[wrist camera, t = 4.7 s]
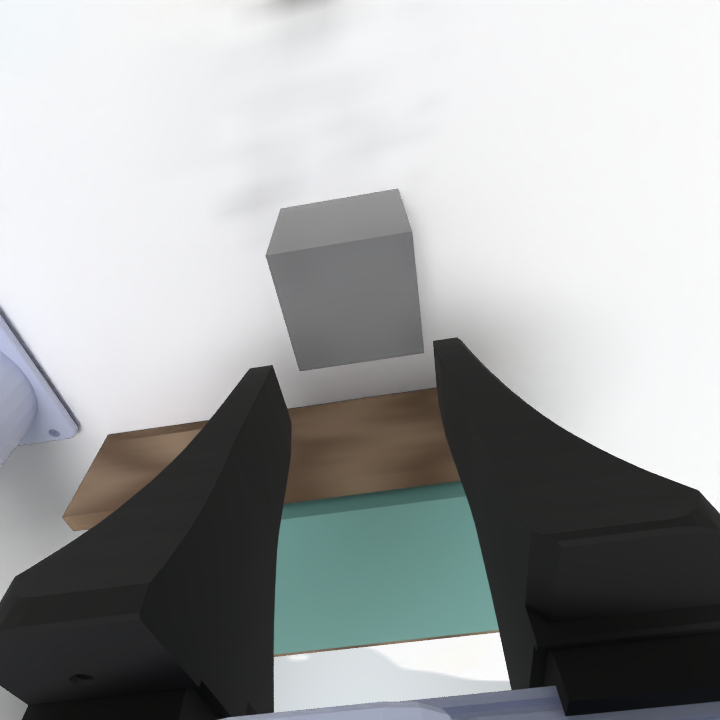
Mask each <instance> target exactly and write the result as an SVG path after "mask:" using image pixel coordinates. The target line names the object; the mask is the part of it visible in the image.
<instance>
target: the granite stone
mask: <svg viewBox="0 0 720 720" xmlns="http://www.w3.org/2000/svg"><path fill="white" fill-rule="evenodd" d="M266 258H267V261H268V265H269V268H270V272H271V275H272V278H273V282H274V285H275V289H276V292H277V296H278V299H279V302H280V306H281V309H282V313H283V316H284V320H285V323H286V326H287V330H288V333H289V337H290V340H291V344H292V347H293V350H294V354H295V357H296V361H297V364H298V367H299V371H305V370H312V369H319V368H325V367H332V366H339V365H346V364H352V363H359V362H366V361H373V360H379V359H386V358H393V357H400V356H406V355H413V354H420V353H424V347H423V337H422V327H421V317H420V307H419V297H418V287H417V277H416V267H415V257H414V246H413V236H412V230H411V227H410V224H409V221H408V218H407V215H406V212H405V209H404V206H403V203H402V200H401V197H400V194H399V191H398V189H393V190H387V191H381V192H375V193H370V194H364V195H358V196H352V197H346V198H340V199H335V200H329V201H323V202H317V203H311V204H306V205H300V206H294V207H288V208H282V209H280V212H279V216H278V219H277V222H276V225H275V228H274V231H273V234H272V237H271V241H270V244H269V247H268V250H267V253H266Z"/></svg>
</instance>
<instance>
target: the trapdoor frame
mask: <svg viewBox="0 0 720 720" xmlns="http://www.w3.org/2000/svg"><path fill="white" fill-rule="evenodd" d="M287 410H288V413H289V416H290V419H291V422H292V436H291V460H290V467H289V473H288V480H287V486H286V492H285V499H284V504H286V503H294V502H302V501H309V500H317V499H325V498H332V497H340V496H348V495H355V494H363V493H371V492H378V491H386V490H394V489H402V488H409V487H417V486H425V485H432V484H440V483H448V482H455V481H461V480H460V477H459V474H458V471H457V468H456V465H455V463H454V460H453V457H452V454H451V451H450V448H449V445H448V442H447V439H446V436H445V432H444V427H443V423H442V418H441V413H440V408H439V404H438V394H437V388H432V389H425V390H418V391H411V392H404V393H397V394H390V395H383V396H376V397H369V398H362V399H355V400H348V401H341V402H334V403H327V404H320V405H314V406H307V407H300V408H293V409H287ZM208 422H209V421H202V422H195V423H188V424H181V425H174V426H167V427H160V428H153V429H146V430H139V431H132V432H125V433H118V434H111V435H108V436H107V438H106V439H105V441H104V443H103V445H102V447H101V448H100V450H99V452H98V454H97V456H96V457H95V459H94V461H93V463H92V464H91V466H90V468H89V470H88V472H87V473H86V475H85V477H84V479H83V481H82V482H81V484H80V486H79V488H78V490H77V491H76V493H75V495H74V497H73V499H72V500H71V502H70V504H69V506H68V508H67V509H66V511H65V513H64V515H63V517H62V518H63V519H64V520H65V521H66V523H67V524H68V525H69V526H70V527H71V528H72V530H73V531H79V530H86V529H91V528H92V527H94V526H95V525H97V524H98V523H99V522H101V521H102V520H103V519H105V518H106V517H107V516H109V515H110V514H111V513H113V512H114V511H115V510H117V509H118V508H119V507H121V506H122V505H123V504H124V503H125V502H127V501H128V500H129V499H130V498H131V497H133V496H134V495H135V494H136V493H137V492H139V491H140V490H141V489H142V488H143V487H145V486H146V485H147V484H148V483H149V482H151V481H152V480H153V479H154V478H155V477H156V476H157V475H158V474H159V473H160V472H161V471H163V470H164V469H165V468H166V467H167V466H168V465H169V464H170V463H171V462H172V461H173V460H174V459H175V458H176V457H177V456H178V455H179V454H180V453H181V452H182V451H183V450H184V449H185V448H186V447H187V445H188V444H189V443H190V442H191V441H192V440H193V439H194V437H195V436H196V435H197V434H198V433H199V432H200V431H201V430H202V428H203V427H204V426H205V425H206V424H207V423H208ZM496 632H499V630H494V631H485V632H476V633H467V634H458V635H448V636H439V637H430V638H421V639H412V640H403V641H394V642H384V643H375V644H366V645H357V646H348V647H339V648H330V649H321V650H311V651H302V652H293V653H284V654H275V655H274V657H276V656H286V655H295V654H304V653H313V652H321V651H331V650H340V649H350V648H359V647H368V646H377V645H386V644H395V643H405V642H414V641H423V640H432V639H441V638H450V637H460V636H469V635H478V634H487V633H496Z"/></svg>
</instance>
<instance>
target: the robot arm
mask: <svg viewBox="0 0 720 720" xmlns="http://www.w3.org/2000/svg"><path fill="white" fill-rule="evenodd" d="M433 347H434V359H435V370H436V382H437V394H438V404H439V408H440V413H441V418H442V423H443V427H444V432H445V436H446V439H447V442H448V445H449V448H450V451H451V454H452V457H453V460H454V463H455V465H456V468H457V471H458V474H459V477H460V480H461V483H462V486H463V489H464V492H465V495H466V497H467V500H468V503H469V506H470V509H471V513H472V516H473V520H474V523H475V527H476V531H477V535H478V540H479V544H480V548H481V552H482V557H483V561H484V565H485V570H486V574H487V579H488V583H489V587H490V592H491V596H492V601H493V605H494V610H495V614H496V619H497V623H498V628H499V633H500V637H501V642H502V646H503V651H504V656H505V661H506V666H507V670H508V675H509V680H510V685H511V689H512V690H509V691H499V692H489V693H480V694H469V695H460V696H449V697H441V698H431V699H420V700H411V701H400V702H376V703H365V704H357V705H356V704H355V705H346V706H336V707H326V708H317V709H306V710H297V711H287V712H277V713H274V683H273V682H274V680H273V677H274V674H273V673H274V672H273V669H274V668H273V667H274V613H275V584H276V564H277V547H278V538H279V530H280V524H281V518H282V511H283V505H284V499H285V492H286V486H287V480H288V473H289V467H290V460H291V436H292V422H291V419H290V416H289V413H288V410H287V407H286V404H285V401H284V398H283V395H282V392H281V389H280V386H279V383H278V380H277V377H276V374H275V371H274V368H273V365H271V366H264V367H257V368H251V369H249V370H248V372H247V373H246V374H245V375H244V377H243V378H242V379H241V381H240V382H239V383H238V385H237V386H236V387H235V388H234V390H233V391H232V392H231V394H230V395H229V396H228V398H227V399H226V400H225V402H224V403H223V404H222V405H221V407H220V408H219V409H218V410H217V412H216V413H215V414H214V415H213V417H212V418H211V419H210V420H209V422H208V423H207V424H206V425H205V426H204V427H203V428H202V430H201V431H200V432H199V433H198V434H197V435H196V436H195V437H194V439H193V440H192V441H191V442H190V443H189V444H188V445H187V447H186V448H185V449H184V450H183V451H182V452H181V453H180V454H179V455H178V456H177V457H176V458H175V459H174V460H173V461H172V462H171V463H170V464H169V465H168V466H167V467H166V468H165V469H164V470H163V471H161V472H160V473H159V474H158V475H157V476H156V477H155V478H154V479H153V480H152V481H151V482H149V483H148V484H147V485H146V486H145V487H143V488H142V489H141V490H140V491H139V492H137V493H136V494H135V495H134V496H133V497H131V498H130V499H129V500H128V501H127V502H125V503H124V504H123V505H122V506H121V507H119V508H118V509H117V510H115V511H114V512H113V513H111V514H110V515H109V516H107V517H106V518H105V519H103V520H102V521H101V522H99V523H98V524H97V525H95V526H94V527H92V528H91V529H89V530H88V531H87V532H85V533H84V534H82V535H81V536H79V537H78V538H77V539H75V540H74V541H72V542H71V543H69V544H68V545H66V546H64V547H63V548H61V549H60V550H58V551H56V552H55V553H53V554H52V555H50V556H48V557H47V558H45V559H44V560H42V561H40V562H39V563H37V564H36V565H34V566H32V567H31V568H29V569H28V570H26V571H24V572H22V573H21V574H19V575H17V576H16V577H15V578H14V580H13V581H12V583H11V584H10V586H9V588H8V590H7V591H6V593H5V595H4V596H3V598H2V600H1V602H0V686H2V687H3V688H5V689H6V690H7V691H9V692H10V693H12V694H13V695H15V696H16V697H18V698H19V699H21V700H22V701H23V702H25V703H26V704H28V708H27V710H26V712H25V714H24V716H23V718H22V720H720V514H719V512H718V511H717V510H716V509H715V508H714V507H713V506H712V505H711V504H710V503H709V501H708V500H707V499H706V498H705V497H704V496H703V495H702V494H701V493H700V491H698V490H696V489H693V488H691V487H688V486H685V485H683V484H680V483H677V482H675V481H672V480H670V479H667V478H664V477H662V476H659V475H657V474H654V473H651V472H649V471H646V470H644V469H642V468H639V467H637V466H635V465H633V464H631V463H628V462H626V461H624V460H622V459H620V458H617V457H615V456H613V455H611V454H609V453H607V452H605V451H603V450H601V449H599V448H597V447H595V446H593V445H592V444H590V443H588V442H586V441H584V440H583V439H581V438H579V437H577V436H575V435H573V434H572V433H570V432H568V431H567V430H565V429H563V428H562V427H560V426H558V425H557V424H555V423H554V422H552V421H551V420H549V419H548V418H546V417H545V416H543V415H542V414H541V413H539V412H538V411H536V410H535V409H534V408H532V407H531V406H530V405H529V404H527V403H526V402H525V401H523V400H522V399H521V398H520V397H519V396H517V395H516V394H515V393H514V392H512V391H511V390H510V389H509V388H508V387H507V386H505V385H504V384H503V383H502V382H501V381H500V380H499V379H498V378H497V377H496V376H495V375H494V374H492V373H491V372H490V371H489V370H488V369H487V368H486V367H485V366H484V365H483V364H482V363H481V362H480V361H479V360H478V359H477V358H476V357H475V355H474V354H473V353H472V352H471V351H470V350H469V349H468V348H467V347H466V345H465V344H464V343H463V342H462V341H461V340H460V339H458V338H450V339H444V340H437V341H433ZM54 429H55V430H54ZM56 430H57V431H56ZM77 431H78V427H77V425H76V424H75V422H74V421H73V419H72V418H71V417H70V415H69V414H68V412H67V411H66V409H65V408H64V406H63V405H62V403H61V402H60V401H59V399H58V398H57V396H56V395H55V393H54V392H53V390H52V389H51V388H50V386H49V385H48V383H47V382H46V380H45V379H44V377H43V376H42V374H41V373H40V372H39V370H38V369H37V367H36V366H35V364H34V363H33V361H32V360H31V359H30V357H29V356H28V354H27V353H26V351H25V350H24V348H23V347H22V345H21V344H20V343H19V341H18V340H17V338H16V337H15V335H14V334H13V332H12V331H11V330H10V328H9V327H8V325H7V324H6V322H5V321H4V319H3V318H2V316H1V315H0V467H1V466H2V464H3V463H4V462H5V460H6V459H7V458H8V456H9V455H10V454H11V452H12V451H13V450H14V449H15V447H16V446H19V445H26V444H33V443H40V442H47V441H54V440H61V439H68V438H72V437H73V436H74V435H75V434H76V432H77Z"/></svg>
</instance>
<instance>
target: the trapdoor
mask: <svg viewBox="0 0 720 720" xmlns="http://www.w3.org/2000/svg"><path fill="white" fill-rule="evenodd" d="M494 630H499V628H498V623H497V619H496V614H495V610H494V605H493V601H492V596H491V592H490V587H489V583H488V579H487V574H486V570H485V565H484V561H483V557H482V552H481V548H480V544H479V540H478V535H477V531H476V527H475V523H474V520H473V516H472V513H471V509H470V506H469V503H468V500H467V497H466V495H465V492H464V489H463V486H462V483H461V481H455V482H448V483H440V484H432V485H425V486H417V487H409V488H402V489H394V490H386V491H378V492H371V493H363V494H355V495H348V496H340V497H332V498H325V499H317V500H309V501H302V502H294V503H286V504H284V505H283V511H282V518H281V524H280V530H279V538H278V547H277V564H276V584H275V613H274V655H275V654H284V653H293V652H302V651H311V650H321V649H330V648H339V647H348V646H357V645H366V644H375V643H384V642H394V641H403V640H412V639H421V638H430V637H439V636H448V635H458V634H467V633H476V632H485V631H494Z"/></svg>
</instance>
